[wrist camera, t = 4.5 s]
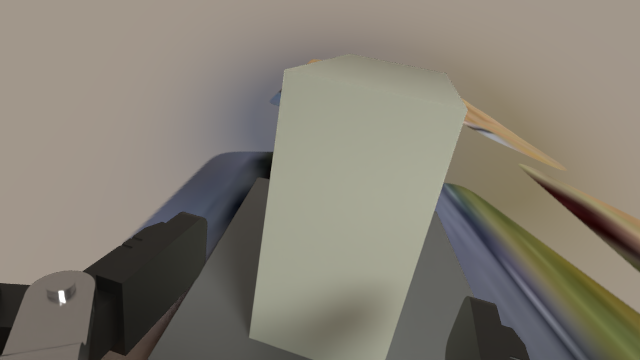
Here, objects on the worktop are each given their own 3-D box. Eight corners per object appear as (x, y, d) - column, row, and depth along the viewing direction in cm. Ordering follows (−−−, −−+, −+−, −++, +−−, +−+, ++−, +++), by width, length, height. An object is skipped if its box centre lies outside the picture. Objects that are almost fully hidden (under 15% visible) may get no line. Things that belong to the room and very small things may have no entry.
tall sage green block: (377, 382, 16) (467, 109, 12) (248, 337, 17) (284, 69, 13) (396, 240, 28) (446, 73, 23) (317, 218, 29) (350, 53, 24)
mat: (257, 185, 34) (258, 177, 34) (433, 219, 34) (436, 211, 34) (116, 426, 14) (116, 411, 13) (554, 511, 14) (563, 498, 13)
